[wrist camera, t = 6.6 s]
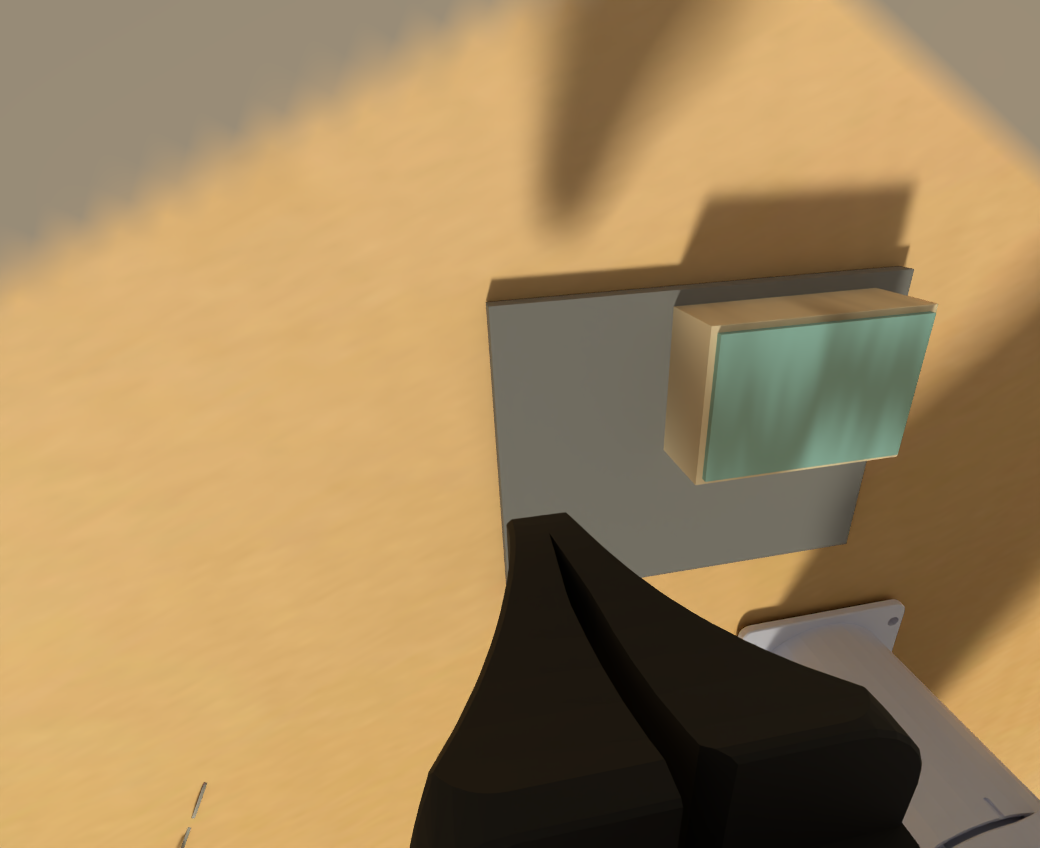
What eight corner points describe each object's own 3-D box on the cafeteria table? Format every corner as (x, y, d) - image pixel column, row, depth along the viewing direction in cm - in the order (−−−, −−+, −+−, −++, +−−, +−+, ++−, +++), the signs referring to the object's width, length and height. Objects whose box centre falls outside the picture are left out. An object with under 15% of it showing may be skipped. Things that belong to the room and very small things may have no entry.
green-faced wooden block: (663, 449, 19) (845, 426, 20) (698, 488, 17) (901, 459, 18) (673, 306, 17) (875, 287, 18) (715, 328, 15) (944, 305, 16)
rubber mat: (835, 535, 23) (846, 543, 23) (506, 588, 21) (509, 599, 21) (899, 266, 19) (914, 269, 18) (485, 302, 17) (488, 306, 16)
